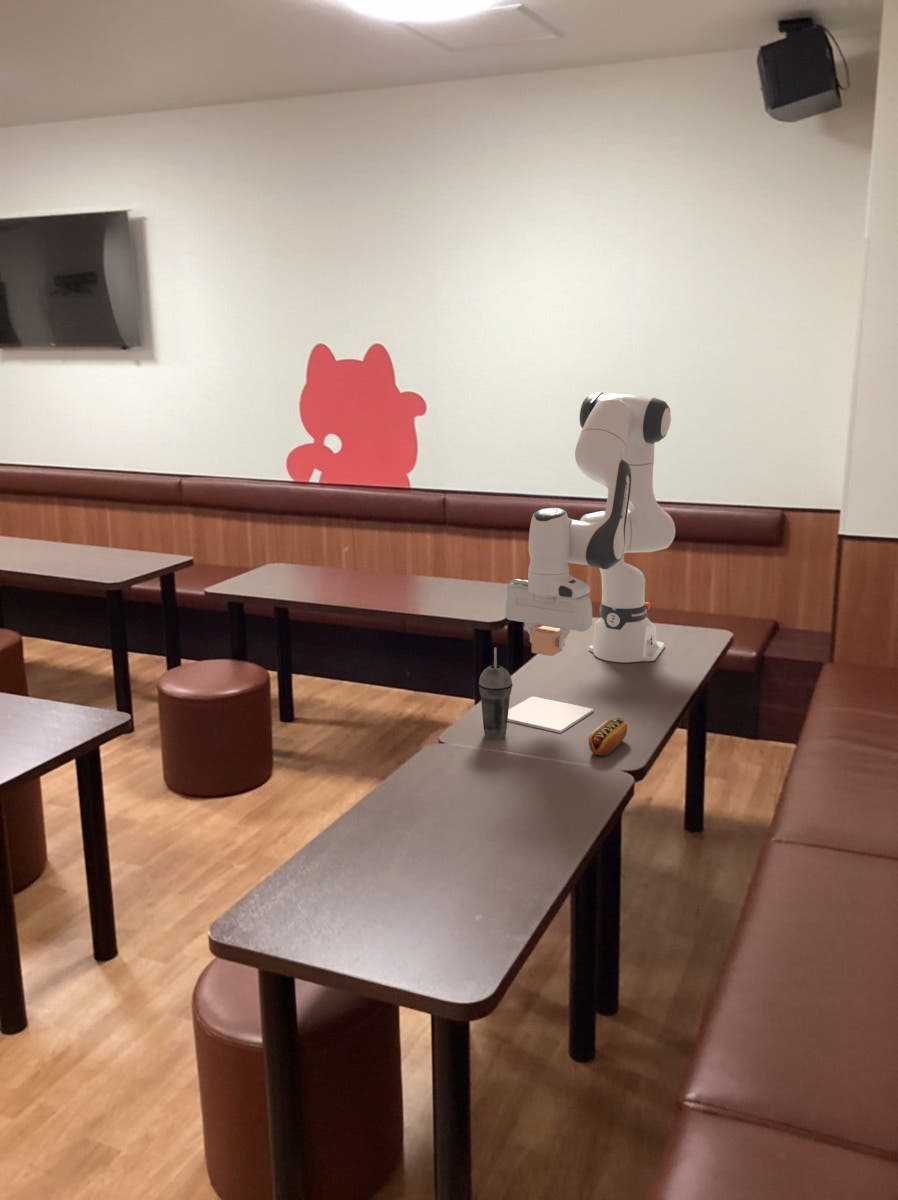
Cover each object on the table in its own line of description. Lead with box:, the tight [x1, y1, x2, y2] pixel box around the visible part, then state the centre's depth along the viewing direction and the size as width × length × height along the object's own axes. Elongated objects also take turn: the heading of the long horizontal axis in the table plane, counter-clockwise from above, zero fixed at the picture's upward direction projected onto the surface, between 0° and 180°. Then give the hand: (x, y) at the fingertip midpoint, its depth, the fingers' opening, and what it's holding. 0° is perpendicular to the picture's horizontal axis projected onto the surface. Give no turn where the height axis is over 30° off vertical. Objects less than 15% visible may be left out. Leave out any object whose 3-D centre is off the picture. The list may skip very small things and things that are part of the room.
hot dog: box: [588, 717, 628, 756], centre depth 216 cm, size 5×13×5 cm, turn 149°
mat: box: [507, 695, 595, 734], centre depth 235 cm, size 16×16×1 cm
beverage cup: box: [477, 647, 514, 741], centre depth 221 cm, size 7×7×20 cm
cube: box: [531, 625, 563, 657], centre depth 231 cm, size 5×5×5 cm
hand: (547, 644), depth 231 cm, fingers closed on cube, 5 cm apart
